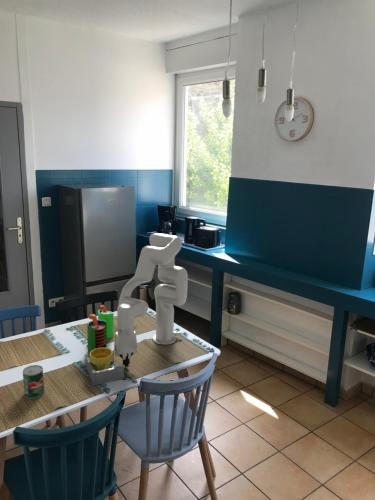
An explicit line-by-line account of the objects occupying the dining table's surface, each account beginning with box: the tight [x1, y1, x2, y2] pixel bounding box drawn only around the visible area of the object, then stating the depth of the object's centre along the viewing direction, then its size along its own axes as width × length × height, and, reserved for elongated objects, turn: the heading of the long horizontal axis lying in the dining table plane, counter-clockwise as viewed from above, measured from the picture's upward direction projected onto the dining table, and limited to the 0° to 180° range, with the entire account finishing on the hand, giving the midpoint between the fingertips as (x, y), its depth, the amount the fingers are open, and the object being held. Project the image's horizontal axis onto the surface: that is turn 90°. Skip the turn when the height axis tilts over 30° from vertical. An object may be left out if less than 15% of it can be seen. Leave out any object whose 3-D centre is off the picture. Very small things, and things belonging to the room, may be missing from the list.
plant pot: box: [90, 347, 113, 371], centre depth 186 cm, size 10×10×10 cm
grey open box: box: [84, 349, 125, 386], centre depth 186 cm, size 14×17×6 cm
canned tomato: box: [22, 364, 45, 400], centre depth 168 cm, size 8×8×11 cm
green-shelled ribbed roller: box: [97, 304, 115, 339], centre depth 221 cm, size 9×8×18 cm
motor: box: [86, 313, 108, 354], centre depth 203 cm, size 10×9×20 cm
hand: (126, 365), depth 191 cm, fingers closed
